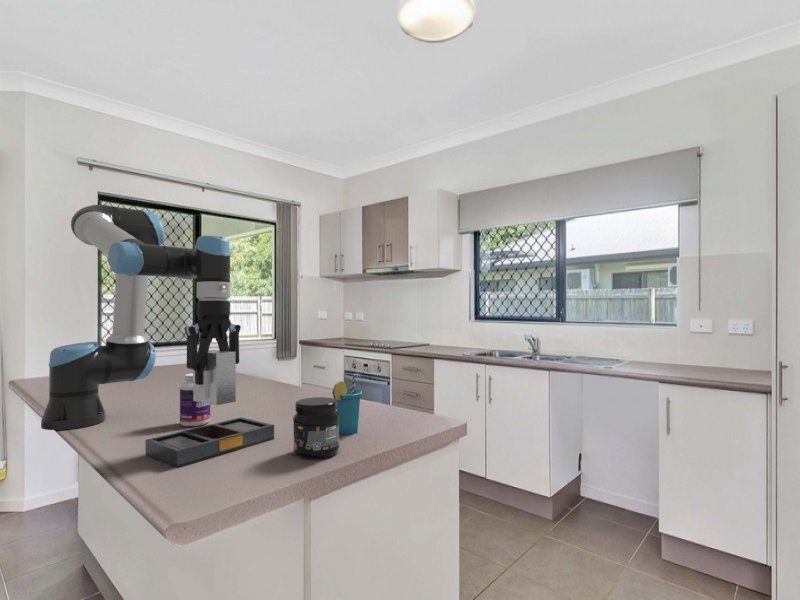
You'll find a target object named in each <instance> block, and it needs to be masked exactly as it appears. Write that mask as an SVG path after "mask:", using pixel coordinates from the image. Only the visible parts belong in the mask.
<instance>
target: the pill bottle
mask: <svg viewBox="0 0 800 600" xmlns="http://www.w3.org/2000/svg"><path fill="white" fill-rule="evenodd" d="M184 381H185V382H182V383H181V385H180V386H179V424H180V425H181V426H182V427H189V428H190V427H202V426H205V425H206V424H207V425H208V423H209V422H210V420H211V404H207V403H202V402H197V401H193V372H191V373H186V374H184Z"/></svg>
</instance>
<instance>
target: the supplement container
mask: <svg viewBox="0 0 800 600" xmlns="http://www.w3.org/2000/svg"><path fill="white" fill-rule="evenodd" d="M294 404H295V407H294V408H295V409H294V411H295V414H294V415H293V417H292V422H293V447H292V448H293V449H292V451H293V454H294V455H295V456H296V457H298V458H299V459H303V460H311V461H312V460H314V461H315V460H323V459H327V458H330V457H333V456H335V455H336V454H337V453H338V452H339V450H340V433H339V413H338V412H337V400H336V399H334V397H328V396H318V397H317V396H315V397H306V398H301V399H299V400H296V401H295V403H294Z"/></svg>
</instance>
